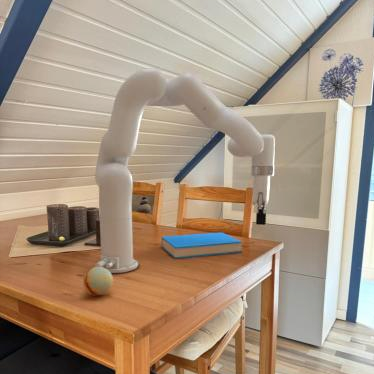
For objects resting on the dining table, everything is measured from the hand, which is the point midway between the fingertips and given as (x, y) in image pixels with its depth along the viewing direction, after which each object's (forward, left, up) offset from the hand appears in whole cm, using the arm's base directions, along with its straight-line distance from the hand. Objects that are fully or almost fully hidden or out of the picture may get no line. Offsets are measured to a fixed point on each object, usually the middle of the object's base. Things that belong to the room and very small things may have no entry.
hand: (260, 224), depth 123 cm
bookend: (-2, +61, -10) cm, 62 cm away
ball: (-51, +34, -11) cm, 63 cm away
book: (-2, +21, -11) cm, 24 cm away
